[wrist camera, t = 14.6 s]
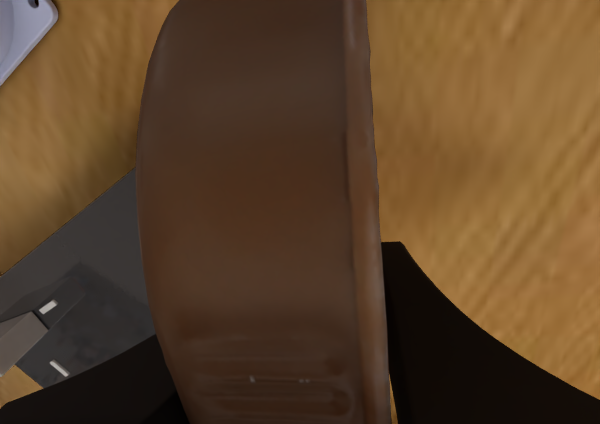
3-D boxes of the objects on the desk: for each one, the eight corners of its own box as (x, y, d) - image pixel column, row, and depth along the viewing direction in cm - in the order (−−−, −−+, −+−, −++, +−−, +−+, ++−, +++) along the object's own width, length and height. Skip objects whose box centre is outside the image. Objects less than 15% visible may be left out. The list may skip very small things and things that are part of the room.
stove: (-46, 289, 26) (-78, 310, 25) (139, 129, 20) (115, 141, 18) (116, 426, 31) (100, 453, 29) (316, 335, 24) (312, 363, 22)
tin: (387, 402, 16) (438, 751, 8) (310, 404, 16) (290, 739, 9) (363, -28, 9) (487, -236, 2) (237, -7, 10) (-78, -115, 2)
